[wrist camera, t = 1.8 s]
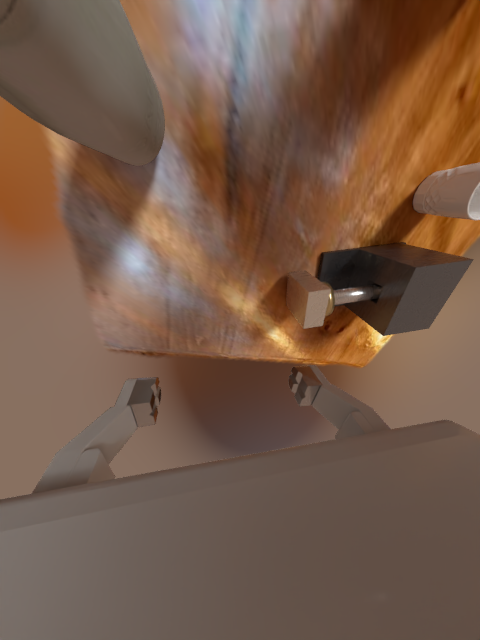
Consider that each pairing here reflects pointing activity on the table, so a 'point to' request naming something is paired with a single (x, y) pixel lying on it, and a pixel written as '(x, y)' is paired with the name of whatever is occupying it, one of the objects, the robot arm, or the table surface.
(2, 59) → the glass bottle
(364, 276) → the bearing block
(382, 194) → the table surface
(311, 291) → the shaft
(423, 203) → the white cup
